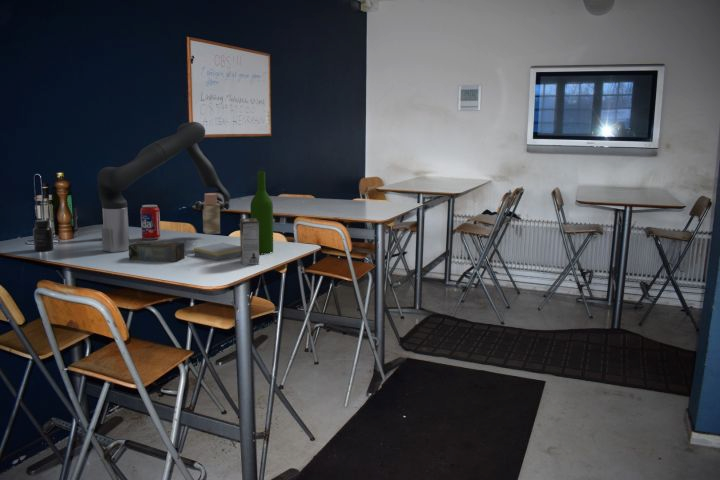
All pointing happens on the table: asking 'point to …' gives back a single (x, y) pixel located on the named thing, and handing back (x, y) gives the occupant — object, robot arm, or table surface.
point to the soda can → (150, 222)
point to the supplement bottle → (43, 236)
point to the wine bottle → (263, 215)
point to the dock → (218, 251)
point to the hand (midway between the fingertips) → (210, 207)
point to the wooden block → (211, 218)
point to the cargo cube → (210, 198)
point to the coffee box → (249, 240)
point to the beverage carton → (156, 251)
